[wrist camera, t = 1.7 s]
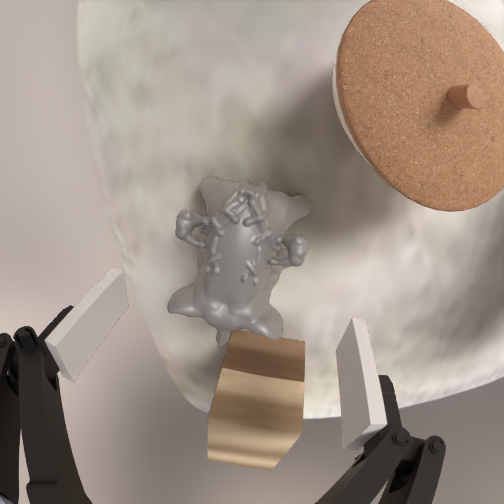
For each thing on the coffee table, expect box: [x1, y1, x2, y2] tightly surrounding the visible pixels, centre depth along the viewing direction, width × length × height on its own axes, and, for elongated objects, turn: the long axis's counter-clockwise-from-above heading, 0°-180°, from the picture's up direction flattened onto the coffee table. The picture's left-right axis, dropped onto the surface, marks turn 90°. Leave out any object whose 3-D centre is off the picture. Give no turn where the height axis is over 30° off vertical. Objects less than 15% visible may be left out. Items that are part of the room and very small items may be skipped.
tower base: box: [222, 330, 305, 382], centre depth 26 cm, size 12×7×5 cm, turn 173°
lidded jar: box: [332, 0, 504, 212], centre depth 10 cm, size 11×11×9 cm
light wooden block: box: [208, 368, 304, 470], centre depth 22 cm, size 12×7×5 cm, turn 173°
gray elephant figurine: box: [167, 176, 311, 348], centre depth 18 cm, size 9×12×8 cm
